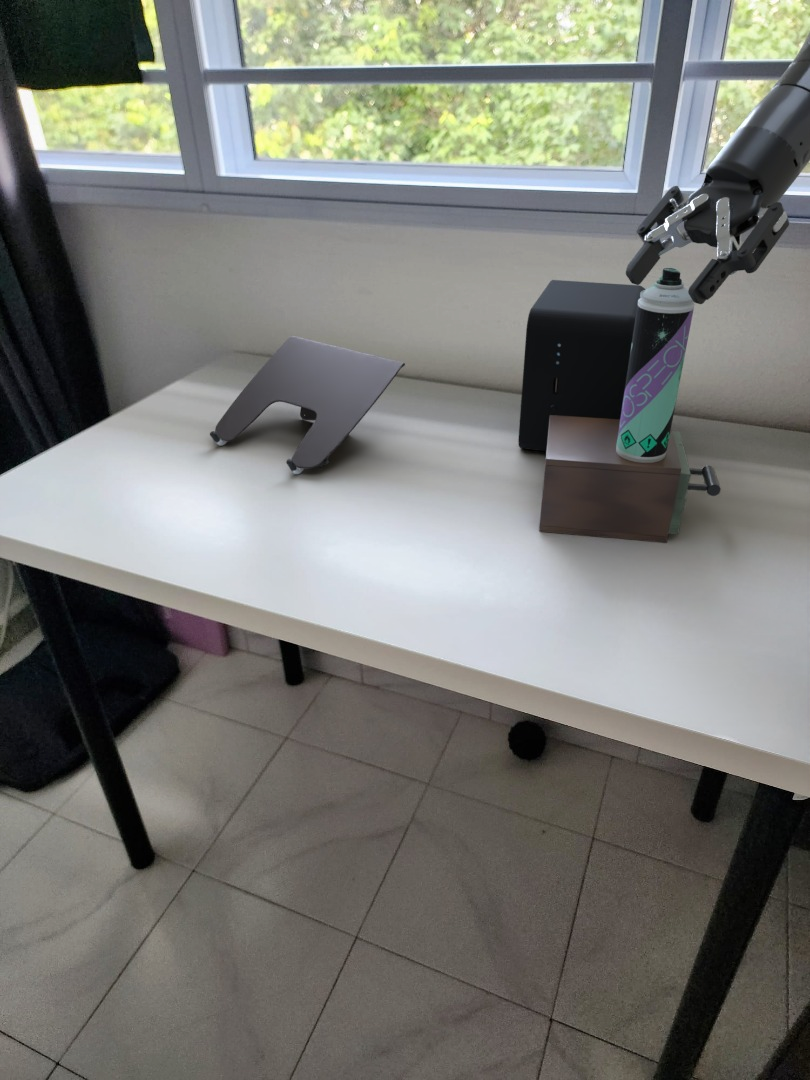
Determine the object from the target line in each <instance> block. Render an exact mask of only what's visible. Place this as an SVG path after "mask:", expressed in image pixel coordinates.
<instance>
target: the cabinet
mask: <svg viewBox="0 0 810 1080" xmlns="http://www.w3.org/2000/svg"><path fill="white" fill-rule="evenodd" d="M619 425H620V419H606V418H589V417H573V416H557V415H550V418H549V429H548V440H547V450H546V451H545V461H544V472H543V482H542V483H543V484H542V494H541V505H540V516H539V526H538V532H543V533H553V534H563V535H564V534H567V535H574V536H575V535H577V536H589V537H597V538H608V539H609V538H610V539H622V540H631V541H632V540H634V541H644V542H654V543H655V542H656V543H668V542H667V541H668V536H669V534H670V533H669V528H670V523H671V518H672V513H673V508H674V503H675V498H676V493H677V489H678V484H679V479H680V474H681V465H680V461H679V457H678V453H677V448H676V444H675V440H674V436H673V432H674V431H673V428H672V427H671V431H670V436H669V441H668V447H667V452H666V455H665V458H664V459H662V460H661V461H658V462H653V463H639V462H633V461H630V460H627V459H624V458H622V457H621V456H619V455H618V454H617V452H616V445H617V439H618V432H619ZM672 431H673V432H672Z"/></svg>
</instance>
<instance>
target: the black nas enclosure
mask: <svg viewBox="0 0 810 1080" xmlns="http://www.w3.org/2000/svg"><path fill="white" fill-rule="evenodd" d="M646 289H647V288H645V287H643V286H642V285H641V284H639V285H636V284H625V283H624V284H623V283H610V282H609V283H608V282H593V281H592V282H591V281H577V280H564V279H563V280H561V279H550V282H549V283H548V284H547V285H546V287H545V288H544V289H543V291H542V292H541V294H539V296H538V298H537V300H536V301H535V302H534V303H533V305H532V306H531V308H530V309H529V313H528V317H527V322H526V328H525V329H526V330H525V331H526V332H525V344H524V357H523V371H522V373H523V374H522V385H521V400H520V413H519V425H518V426H519V427H518V428H519V429H518V441H517V443H518V447H519V448H520V449H525V450H533V451H540V452H546V450H547V440H548V429H549V418H550V415H557V416H573V417H589V418H606V419H621V412H622V405H623V399H624V392H625V385H626V379H627V372H628V365H629V359H630V352H631V345H632V339H633V332H634V325H635V319H636V312H637V305H638V300H639V299H640V298H641V297H640V293H641V291H643V290H646Z"/></svg>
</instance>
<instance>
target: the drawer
mask: <svg viewBox="0 0 810 1080" xmlns="http://www.w3.org/2000/svg"><path fill="white" fill-rule="evenodd" d="M672 432H673V436H674V440H675V444H676V448H677V453H678V457H679V461H680V465H681V474H680V479H679V484H678V489H677V493H676V498H675V503H674V508H673V513H672V518H671V523H670V528H669V533H668V534H671V535H679V532H680V527H681V523H682V518H683V514H684V508H685V503H686V499H687V494H688V490H689V491H699V492H706V493H707V494H708V495H709V496H712V497H715V496H718V495H719V494H720V493H721V491H722V489H721V485H720V482H719V479H718V475H717V473H716V472H717V471H716V470H715V467H714V466H713V465H710V464H707V465H705V466H703V467H702V468H694V467H689V463H688V459H687V455H686V451H685V447H684V442H683V439H682V435H681V432H680V431H673V430H672ZM691 475H692V476H693V475H695V476H701V477H702V480H703V483H690V480H691Z"/></svg>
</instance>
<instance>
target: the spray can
mask: <svg viewBox="0 0 810 1080" xmlns="http://www.w3.org/2000/svg"><path fill="white" fill-rule="evenodd" d="M645 289H646V290H643V291H641V293H640V297H641V298H640V299H639V300H638V305H637V312H636V319H635V325H634V332H633V339H632V345H631V352H630V359H629V365H628V372H627V379H626V385H625V392H624V399H623V405H622V412H621V419H620V425H619V432H618V439H617V445H616V452H617V454H618V455H619V456H621V457H622V458H624V459H627V460H630V461H633V462H639V463H653V462H658V461H661V460H662V459H664V458H665V455H666V452H667V447H668V441H669V436H670V431H671V428H672V426H673V425H672V424H673V419H674V415H675V409H676V404H677V398H678V393H679V388H680V384H681V377H682V373H683V368H684V367H683V366H684V361H685V357H686V351H687V348H688V347H687V346H688V341H689V335H690V331H691V325H692V319H693V314H694V309H695V304H696V303H694V302H693V300H692V298H691V297H690V295H689V293H688V290H689V289H687V288H686V287H685V283H684V282H683V280H682V278H681V272H680V271H679V270H678V269H676V268H673V267H664V268H663V269H662V271H661V277H659V278H658V279H657V280H655V281H654V284H653V285H652V286H650V287H648V288H645Z"/></svg>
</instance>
